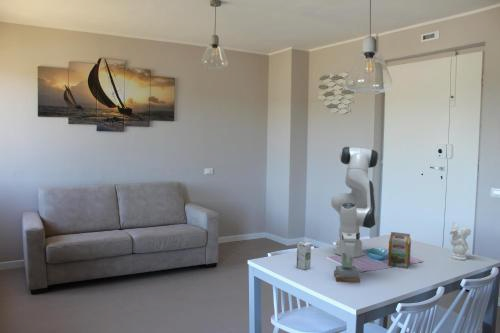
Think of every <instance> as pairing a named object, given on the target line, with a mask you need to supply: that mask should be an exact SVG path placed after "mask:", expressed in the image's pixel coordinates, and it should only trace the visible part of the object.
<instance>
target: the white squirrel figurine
mask: <svg viewBox="0 0 500 333" xmlns="http://www.w3.org/2000/svg"><path fill="white" fill-rule="evenodd" d="M450 230H451V231H449V235H452V236H451V239H450V244H451V245H452V252H453V253H452V255H451V258H452V259H453V260H458V261H466V260H468V257H466V254H467V250H470V246H469V244H468V242H467V240H466V239H467V237H469V236H470V235H471V232H472V230H471V228H470V227H469V226H463V227H462V228H460V229H459V225H458V224H457V223H456V222H455V221H453V222H452V226H451V229H450Z"/></svg>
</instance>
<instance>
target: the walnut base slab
mask: <svg viewBox="0 0 500 333" xmlns="http://www.w3.org/2000/svg"><path fill="white" fill-rule="evenodd" d="M333 276H334V279H335V282H337V283H358V284H359V283H361V277H360V276H359V277H340V276H339V275H338V274H337V272H336V269H334V270H333Z"/></svg>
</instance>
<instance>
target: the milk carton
mask: <svg viewBox="0 0 500 333" xmlns="http://www.w3.org/2000/svg"><path fill="white" fill-rule="evenodd" d="M411 249H412V238H411V233H406V232H405V233H404V232H396V231H390V236H389V240H388V261H387V264H388V267H394V268H400V269H407V270H408V268H409V267H410V264H411V252H412V251H411Z"/></svg>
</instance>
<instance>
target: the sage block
mask: <svg viewBox="0 0 500 333" xmlns="http://www.w3.org/2000/svg"><path fill="white" fill-rule="evenodd" d="M353 258H354V257H350V262H349V263H347V262H346V254H345V253H342V256H341V266H342V267H352V266H353Z"/></svg>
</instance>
